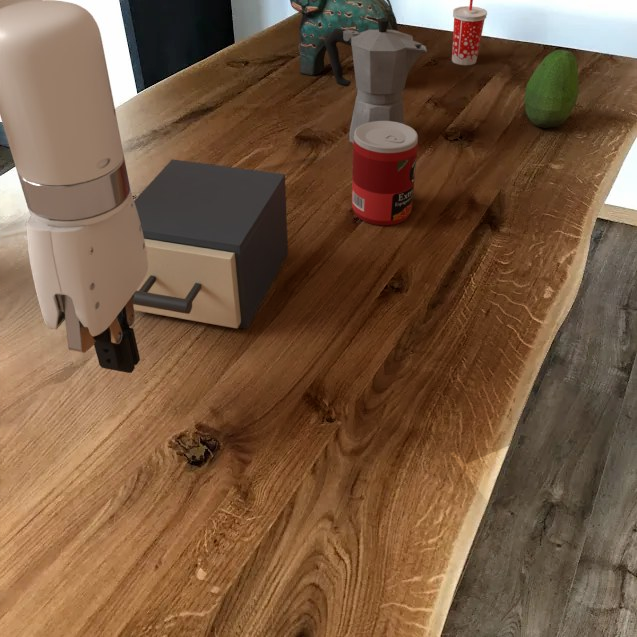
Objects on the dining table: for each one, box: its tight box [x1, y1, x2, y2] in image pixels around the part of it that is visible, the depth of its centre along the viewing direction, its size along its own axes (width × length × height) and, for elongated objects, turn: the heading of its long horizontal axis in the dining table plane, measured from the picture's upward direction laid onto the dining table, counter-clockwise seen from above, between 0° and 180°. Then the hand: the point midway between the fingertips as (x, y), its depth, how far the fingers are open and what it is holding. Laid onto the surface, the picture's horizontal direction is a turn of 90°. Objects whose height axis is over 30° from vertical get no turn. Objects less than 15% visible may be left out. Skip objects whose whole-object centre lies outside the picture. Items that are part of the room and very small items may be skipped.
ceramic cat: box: [289, 0, 399, 77], centre depth 125 cm, size 20×6×20 cm, turn 61°
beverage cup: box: [451, 0, 488, 66], centre depth 133 cm, size 6×6×14 cm
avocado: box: [523, 49, 580, 129], centre depth 112 cm, size 8×8×12 cm
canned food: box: [351, 121, 419, 226], centre depth 93 cm, size 8×8×11 cm
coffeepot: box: [325, 18, 428, 145], centre depth 108 cm, size 15×9×18 cm, turn 65°
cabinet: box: [134, 159, 289, 330], centre depth 81 cm, size 15×14×11 cm
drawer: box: [133, 238, 241, 329], centre depth 79 cm, size 18×13×9 cm
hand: (120, 364), depth 66 cm, fingers closed
